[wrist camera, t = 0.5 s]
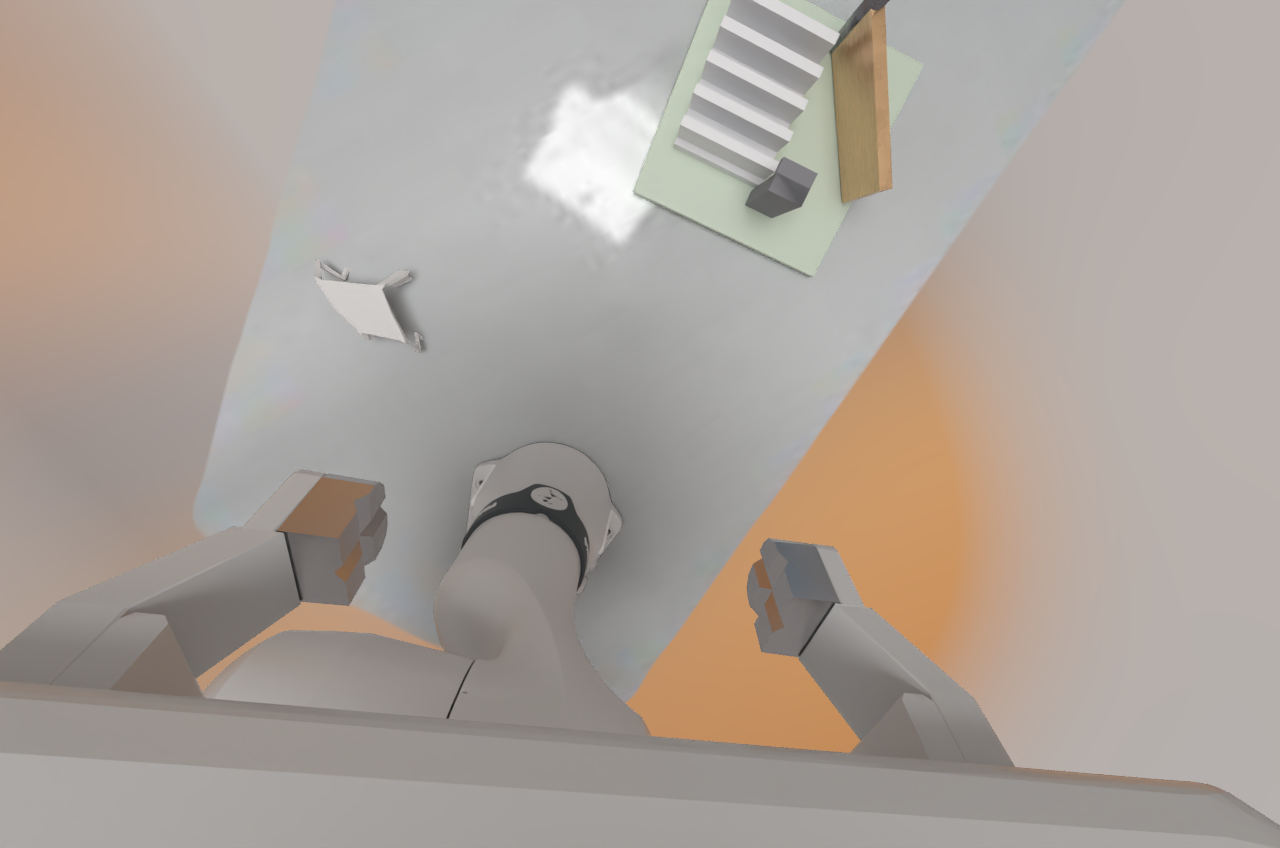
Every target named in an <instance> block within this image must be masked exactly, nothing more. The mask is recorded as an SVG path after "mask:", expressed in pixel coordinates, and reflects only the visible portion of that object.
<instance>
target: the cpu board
mask: <svg viewBox="0 0 1280 848" xmlns="http://www.w3.org/2000/svg"><path fill="white" fill-rule="evenodd" d="M845 23H846V22H845V21H843V20H841V19H839V18H837V17H835V16H834V15H832V14H830V13H828V12H826V11H825V10H823V9H821V8H819V7H817V6H815V5H814V4H812V3H810V2H808V1H806V0H708V2H707V5H706V8H705V10H704V13H703V15H702V18H701V20H700V23H699V25H698V28H697V30H696V33H695V36H694V38H693V41H692V43H691V46H690V48H689V51H688V53H687V56H686V59H685V61H684V64H683V66H682V69H681V71H680V74H679V76H678V79H677V81H676V84H675V87H674V89H673V92H672V94H671V97H670V99H669V102H668V104H667V107H666V110H665V112H664V115H663V117H662V120H661V122H660V125H659V127H658V130H657V132H656V135H655V138H654V140H653V143H652V145H651V148H650V150H649V153H648V155H647V158H646V160H645V163H644V166H643V168H642V171H641V173H640V176H639V178H638V181H637V183H636V186H635V189H634V194H636V195H638V196H640V197H642V198H644V199H647V200H649V201H651V202H653V203H655V204H657V205H659V206H661V207H663V208H666V209H668V210H670V211H672V212H674V213H676V214H678V215H680V216H682V217H684V218H687V219H689V220H691V221H693V222H695V223H697V224H699V225H701V226H703V227H706V228H708V229H710V230H712V231H714V232H716V233H718V234H720V235H722V236H724V237H727V238H729V239H731V240H733V241H735V242H737V243H739V244H741V245H743V246H745V247H748V248H750V249H752V250H754V251H756V252H758V253H760V254H762V255H764V256H767V257H769V258H771V259H773V260H775V261H777V262H779V263H781V264H783V265H785V266H788V267H790V268H792V269H794V270H796V271H798V272H800V273H802V274H804V275H807V276H809V277H813V276H814V274H815V273H816V271H817V269H818V267H819V265H820V263H821V261H822V259H823V257H824V255H825V253H826V251H827V250H828V248H829V246H830V244H831V242H832V240H833V238H834V236H835V234H836V232H837V230H838V229H839V227H840V225H841V223H842V221H843V219H844V217H845V215H846V213H847V211H848V209H849V207H850V206H851V204H852V202H853V201H850V202H845V203H842V195H841V181H840V167H839V152H838V138H837V124H836V110H835V96H834V81H833V67H832V54H831V53H830V50H831V49H832V48H833V46H834V45H835V43H836V41H837V39H838V37H839V35H840V34H839V33H838V31H839V30H840V29H841V28H842V26H843V25H844V24H845ZM886 48H887V72H888V96H889V120H890V129H891V127H892V125H893V123H894V121H895V119H896V117H897V116H898V114H899V112H900V110H901V108H902V106H903V104H904V102H905V100H906V98H907V96H908V95H909V93H910V91H911V89H912V87H913V85H914V83H915V81H916V79H917V77H918V75H919V73H920V72H921V70H922V68H923V66H924V65H923V64H921V63H919V62H918V61H916V60H914V59H912V58H910V57H908V56H907V55H905V54H903V53H901V52H899V51H898V50H896V49H894V48H892V47H890V46H888V45H887V44H886Z"/></svg>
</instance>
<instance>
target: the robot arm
mask: <svg viewBox="0 0 1280 848" xmlns="http://www.w3.org/2000/svg"><path fill="white" fill-rule="evenodd" d="M481 480H484V481H483V482H482V483H481ZM385 498H386V497H385V489H384V485H383V484H382V483H380V482H376V481H370V480H364V479H358V478H352V477H346V476H340V475H334V474H324V473H319V472H313V471H307V470H300V471H297V472H295V473H293V474H292V475H291V476H290V477H289V478H288V479H287V480H286V482H285V483H284V484H283V485H282V486H281V487H280V488H279V489H278V490H277V491H276V492H275V493H274V494H273V495H272V496H271V497H270V498H269V500H268V501H267V502H266V503H265V504H264V505H263V506H262V507H261V508H260V509H259V510H258V511H257V512H256V513H255V514H254V515H253V517H252V518H251V519H250V520H249V521H248V522H247V523H246V524H245V525H244V526H243V527H235V526H233V527H231V528H228V529H226V530H224V531H221V532H219V533H217V534H214V535H212V536H210V537H207V538H205V539H203V540H201V541H198V542H196V543H193V544H191V545H189V546H186V547H184V548H182V549H179V550H177V551H175V552H172V553H170V554H168V555H165V556H163V557H161V558H158V559H156V560H154V561H151V562H149V563H147V564H144V565H142V566H140V567H137V568H135V569H132V570H130V571H128V572H126V573H123V574H121V575H118V576H116V577H114V578H111V579H109V580H107V581H104V582H102V583H100V584H97V585H95V586H93V587H90V588H88V589H86V590H83V591H81V592H79V593H76V594H74V595H72V596H69V597H67V598H65V599H62V600H60V601H58V602H57V603H56V604H54V605H53V606H52V607H51V608H50V609H48V610H47V611H46V612H45V613H44V614H43V615H41V616H40V617H39V618H38V619H37V620H35V621H34V622H33V623H32V624H31V625H30V626H28V627H27V628H26V629H25V630H24V631H23V632H21V633H20V634H19V635H18V636H17V637H15V638H14V639H13V640H12V641H11V642H10V643H8V644H7V645H6V646H5V647H4V648H2V649H1V650H0V848H1280V825H1278V824H1277V823H1275V822H1274V821H1272V820H1270V819H1269V818H1268V817H1266V816H1265V815H1263V814H1261V813H1260V812H1258V811H1257V810H1255V809H1254V808H1252V807H1250V806H1249V805H1247V804H1246V803H1244V802H1243V801H1241V800H1240V799H1238V798H1236V797H1235V796H1233V795H1232V794H1230V793H1229V792H1226V791H1224V790H1222V789H1220V788H1217V787H1215V786H1212V785H1208V784H1204V783H1197V782H1190V781H1175V780H1162V779H1149V778H1137V777H1125V776H1113V775H1102V774H1089V773H1078V772H1065V771H1055V770H1043V769H1031V768H1019V767H1015V766H1014V764H1013V762H1012V761H1011V759H1010V757H1009V756H1008V754H1007V752H1006V751H1005V749H1004V747H1003V746H1002V744H1001V742H1000V741H999V739H998V737H997V735H996V734H995V732H994V730H993V729H992V727H991V725H990V724H989V722H988V720H987V719H986V717H985V715H984V714H983V712H982V710H981V708H980V707H979V705H978V704H977V702H976V700H975V699H974V698H973V697H972V696H971V695H970V694H969V693H968V692H967V691H965V690H964V689H963V688H962V687H961V686H959V684H957V683H956V682H955V681H954V680H953V679H952V678H950V677H949V676H948V675H947V674H946V673H945V672H944V671H942V670H941V669H940V668H939V667H938V666H937V665H935V663H933V662H932V661H931V660H930V659H929V658H928V657H926V656H925V655H924V654H923V653H922V652H921V651H920V650H919V649H917V648H916V647H915V646H914V645H913V644H912V643H910V642H909V641H908V640H907V639H906V638H905V637H904V636H903V635H901V634H900V633H899V632H898V631H897V630H896V629H895V628H894V627H892V626H891V625H890V624H889V623H888V622H887V621H886V620H884V619H883V618H882V617H881V616H880V615H879V614H877V613H876V612H875V611H874V610H873V609H872V608H866V607H865V606H864V604H863V602H862V600H861V598H860V596H859V594H858V592H857V590H856V588H855V586H854V584H853V582H852V580H851V578H850V575H849V573H848V571H847V569H846V567H845V565H844V563H843V561H842V559H841V557H840V555H839V553H838V551H837V550H836V549H835V548H834V547H833V546H825V545H817V544H808V543H800V542H793V541H786V540H778V539H771V538H768V539H767V540H766V541H765V542H764V543H763V545H762V547H761V549H760V552H761V555H762V559H761V560H759V561H757V562H755V563H754V564H753V565H752V568H751V571H750V573H749V575H748V582H747V594H748V600H749V604H750V607H751V608H752V609H753V610H754V611H755V612H756V613H757V614H758V618H757V620H756V622H755V624H754V625H755V629H756V632H757V636H758V640H759V644H760V648H761V651H762V652H765V653H773V654H779V655H787V656H794V657H799V661H800V662H801V663H802V664H803V665H804V667H805V668H806V670H807V671H808V672H809V673H810V675H811V676H812V678H813V679H814V680H815V681H816V683H817V684H818V685H819V687H820V688H821V689H822V691H823V692H824V693H825V695H826V696H827V697H828V698H829V700H830V701H831V702H832V704H833V705H834V706H835V708H836V709H837V710H838V711H839V713H840V714H841V715H842V717H843V718H844V719H845V721H846V722H847V723H848V725H849V726H850V727H851V728H852V730H853V731H854V732H855V734H856V735H857V736H858V738H859V739H860V740H861V741H860V742H859V743H858V744H857V746H856V747H855V748H854V749H853V750H852V751H851V752H850V753H841V752H830V751H819V750H806V749H795V748H794V749H793V748H783V747H771V746H759V745H748V744H736V743H724V742H713V741H701V740H689V739H678V738H666V737H654V736H651V734H650V731H649V729H648V727H647V726H646V724H645V722H644V720H643V719H642V717H641V716H640V715H638V714H637V713H636V712H634V711H633V710H632V709H631V708H630V707H629V706H628V705H626V704H625V703H624V702H623V701H622V700H621V699H620V698H619V697H618V696H617V695H616V694H615V693H614V692H613V691H612V690H611V689H610V688H609V687H608V686H607V684H606V683H605V682H604V681H603V680H602V678H601V677H600V676H599V674H598V673H597V671H596V670H595V669H594V667H593V666H592V664H591V662H590V661H589V659H588V657H587V656H586V654H585V652H584V650H583V648H582V646H581V644H580V641H579V639H578V637H577V634H576V631H575V626H574V610H575V600H576V595H580V594H581V593H582V591H583V590H584V588H585V586H586V584H587V581H588V578H587V576H585V575H586V574H587V572H588V571H591V572H592V571H594V569H595V568H596V566H597V563H598V561H597V560H598V558H599V557H600V556H601V554H602V553H603V552H604V550H605V549H606V548H607V547H608V545H609V544H610V543H611V541H612V540H613V539H614V537H615V536H616V535H617V534H618V532H619V531H620V529H621V527H622V523H623V521H622V517H621V515H620V514H619V512H618V511H617V510H616V508H615V507H614V506H613V504H612V502H611V500H610V496H609V491H608V487H607V484H606V481H605V479H604V477H603V475H602V473H601V471H600V470H599V468H598V467H597V466H596V465H595V464H594V463H593V462H592V461H591V460H590V459H589V458H588V457H587V456H585V455H584V454H583V453H581V452H579V451H577V450H576V449H573V448H571V447H568V446H565V445H562V444H557V443H535V444H530V445H527V446H524V447H521V448H519V449H517V450H515V451H514V452H512V453H511V454H509V455H507V456H506V457H504V458H502V459H499V460H492V461H487V462H483V463H480V464H479V465H478V466H477V467H476V469H475V471H474V474H473V482H472V490H471V498H470V506H469V514H468V522H467V530H466V536H465V538H464V540H463V543H462V547H461V551H460V553H459V554H458V556H457V557H456V559H455V560H454V562H453V563H452V565H451V567H450V568H449V570H448V571H447V573H446V574H445V576H444V577H443V579H442V581H441V582H440V584H439V586H438V589H437V592H436V595H435V599H434V608H433V614H434V622H435V626H436V630H437V633H438V636H439V639H440V642H441V645H442V647H443V649H444V651H445V652H443V651H439V650H435V649H431V648H427V647H423V646H419V645H415V644H411V643H407V642H404V641H400V640H396V639H392V638H388V637H384V636H380V635H376V634H371V633H357V632H356V633H355V632H339V631H302V630H289V631H284V632H281V633H278V634H276V635H274V636H272V637H270V638H268V639H266V640H265V641H263V642H261V643H259V644H257V645H256V646H254V647H253V648H251V649H250V650H248V651H247V652H245V653H244V654H242V655H241V656H240V657H238V658H237V659H236V660H235V661H234V662H232V663H231V664H230V665H229V666H227V667H226V668H225V669H224V670H223V671H222V672H221V673H220V674H219V675H218V676H217V677H216V678H215V679H214V680H213V681H212V682H211V683H210V685H209V686H208V687H207V688H206V689H205V690H204V691H203V693H202V691H201V689H200V687H199V685H198V683H197V681H196V678H197V677H199V676H200V675H201V674H203V673H204V672H206V671H207V670H208V669H210V668H211V667H213V666H214V665H215V664H217V663H218V662H220V661H221V660H223V659H224V658H225V657H227V656H228V655H230V654H231V653H232V652H234V651H235V650H237V649H238V648H239V647H241V646H242V645H244V644H245V643H246V642H248V641H249V640H251V639H252V638H254V637H255V636H256V635H258V634H259V633H261V632H262V631H264V630H265V629H266V628H267V627H269V626H271V625H272V624H273V623H274V622H276V621H278V620H279V619H280V618H282V617H283V616H285V615H286V614H288V613H289V612H290V611H292V610H293V609H295V608H296V607H297V606H299V605H300V602H311V603H324V604H334V605H347V606H349V605H350V603H351V601H352V600H353V598H354V596H355V594H356V593H357V591H358V589H359V587H360V586H361V584H362V582H363V580H364V579H365V571H364V566H365V565H367V564H369V563H370V562H372V561H374V560H375V559H376V557H377V556H378V554H379V552H380V550H381V548H382V545H383V542H384V539H385V536H386V532H387V513H386V512H385V511H384V510H383V509H382V508H381V507H380V506H381V504H382V502H383V501H384V499H385ZM608 529H609V530H610V531H609V532H608Z"/></svg>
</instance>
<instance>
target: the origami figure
mask: <svg viewBox="0 0 1280 848" xmlns="http://www.w3.org/2000/svg"><path fill="white" fill-rule="evenodd" d="M320 268H322V269H324V270H326V271H327V272H329V273H331V274H333V275H334V276H336V277H338V278H340V279H342V280H345V279H346V277H347V275H348V273H349V269H347V268H344V270H343V272H342V274H341V275H340V274H338V273H337V272H335V271H334V270H332V269H331V268H329V267H328V266H326V265H325V264H323V263H322V262H320V261H318V260H316V259H315V263H314V276H315V279H316V282H317V283H318V285H319V286H320V288H321V289H322V291H323V292H324V294H325V295H326V297H327V298H328V300H329V301H330V303H331V304H332V306H333V307H334V308H335V309H336V310H337V311H338V312H339V313H340V314H341V315H342V316H343V317H344V318H345V319H346V320H347V321H348V322H349V323H350V324H352V325H353V326H354V327H355V328H356V329H357V330H358V332H359V334H361V333H362V335H363V337H364V339H366V340H369V341H370V340H371V339H372V338H373V337H374V336H375V335H376V336H381V337H385V338H390V339H395V340H400V341H402V342H404V343H406V344H409V345H410V346H411V347H412V348H413V349H414V350H415V351H416V352H418V353H420V351H421V346H420V342H419V340H423V337H422V336H421V335H420V334H419V333H418V332H414V337H415V343H413V342H412V341H410V340H409V339H407V338H406V336H405V334H404V332H403V330H402V328H401V326H400V325H399V323H398V321H397V319H396V318H395V316H394V314H393V312H392V309H391V307H390V305H389V303H388V300H387V298H386V296H385V294H384V291H383V289H384V288H386V287H388V286H390V285H392V286H396V287H398V286H400V285H403V284H405V283H407V282H409V281H411V280H412V277H408V273H409V271H404V270H399V271H397V272H396V273H394V274H393V275H391V276H389V277H388V278H386V279H385V280H383V281H382V282H380V283H379V284H377V285H369V284H359V283H350V282H341V281H332V280H322V276H321V271H320Z"/></svg>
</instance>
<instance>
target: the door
mask: <svg viewBox="0 0 1280 848" xmlns="http://www.w3.org/2000/svg"><path fill="white" fill-rule="evenodd" d="M888 1H889V0H864V1H863V2H862V3H861V4H860V6H859V7H858V8H857V9H856V11H855V12H854V13H853V14H852V15H851V17H850V18H849V19H848V20H847V22H846V23H845V24H844V25H843V26H842V28H841V29H840V30H839V31H838V33H839V34H840V35H839V37H838V39H837V41H836V43H835V45H834V46H833V48H832V49H831V50H830V53H831V54H832V67H833V81H834V96H835V110H836V124H837V138H838V152H839V167H840V181H841V195H842V203H845V202H850V201H854V200H857V199H860V198H863V197H866V196H869V195H872V194H875V193H879V192H882V191H885V190H888V189H891V188H892V169H891V145H890V120H889V96H888V72H887V48H886V24H885V5H886V4H887V2H888Z"/></svg>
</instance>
